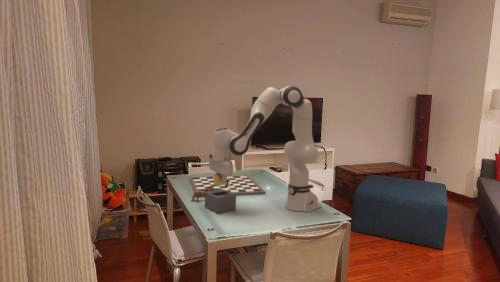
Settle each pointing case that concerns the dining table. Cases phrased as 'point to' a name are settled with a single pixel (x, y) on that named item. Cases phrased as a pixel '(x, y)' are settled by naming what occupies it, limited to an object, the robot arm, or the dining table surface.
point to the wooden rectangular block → (217, 180)
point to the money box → (220, 201)
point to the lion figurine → (201, 193)
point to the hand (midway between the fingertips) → (220, 180)
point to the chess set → (229, 185)
